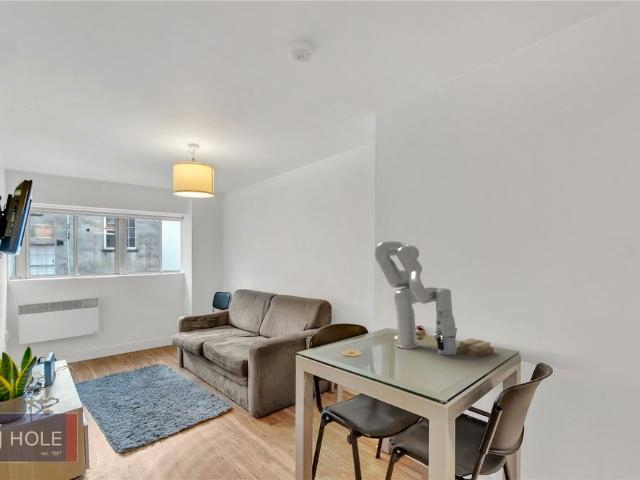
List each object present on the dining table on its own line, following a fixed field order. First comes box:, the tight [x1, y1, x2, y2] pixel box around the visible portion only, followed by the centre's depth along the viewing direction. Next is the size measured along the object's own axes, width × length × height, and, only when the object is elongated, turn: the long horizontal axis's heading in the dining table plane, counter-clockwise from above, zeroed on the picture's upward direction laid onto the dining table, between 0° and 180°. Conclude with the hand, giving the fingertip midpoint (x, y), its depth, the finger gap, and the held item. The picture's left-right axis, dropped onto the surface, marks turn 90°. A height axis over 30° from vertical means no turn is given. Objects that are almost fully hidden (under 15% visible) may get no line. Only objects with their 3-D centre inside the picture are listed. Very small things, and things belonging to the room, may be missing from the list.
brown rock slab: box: [456, 338, 495, 359], centre depth 161 cm, size 12×12×5 cm
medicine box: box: [436, 336, 457, 356], centre depth 161 cm, size 8×4×9 cm, turn 84°
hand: (446, 347), depth 161 cm, fingers closed on medicine box, 9 cm apart
